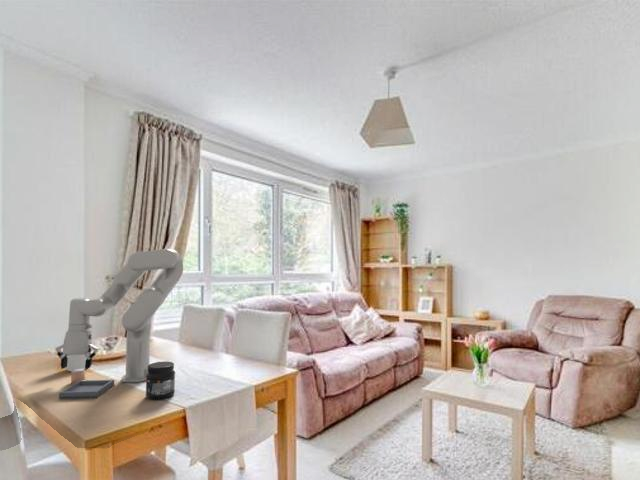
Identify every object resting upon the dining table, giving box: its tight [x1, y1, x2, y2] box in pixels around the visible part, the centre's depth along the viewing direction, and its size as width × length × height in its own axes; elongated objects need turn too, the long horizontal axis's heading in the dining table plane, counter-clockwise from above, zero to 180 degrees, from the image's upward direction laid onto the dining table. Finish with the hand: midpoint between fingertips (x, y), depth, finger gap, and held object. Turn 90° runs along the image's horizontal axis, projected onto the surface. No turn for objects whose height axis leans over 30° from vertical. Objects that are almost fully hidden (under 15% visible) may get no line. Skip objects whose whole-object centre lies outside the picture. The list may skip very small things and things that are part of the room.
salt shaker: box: [70, 368, 86, 386], centre depth 164 cm, size 5×5×6 cm
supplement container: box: [145, 360, 176, 401], centre depth 149 cm, size 10×10×12 cm
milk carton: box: [64, 355, 87, 373], centre depth 183 cm, size 7×7×19 cm
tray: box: [58, 379, 115, 400], centre depth 152 cm, size 14×14×2 cm
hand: (75, 367), depth 164 cm, fingers open, 9 cm apart
